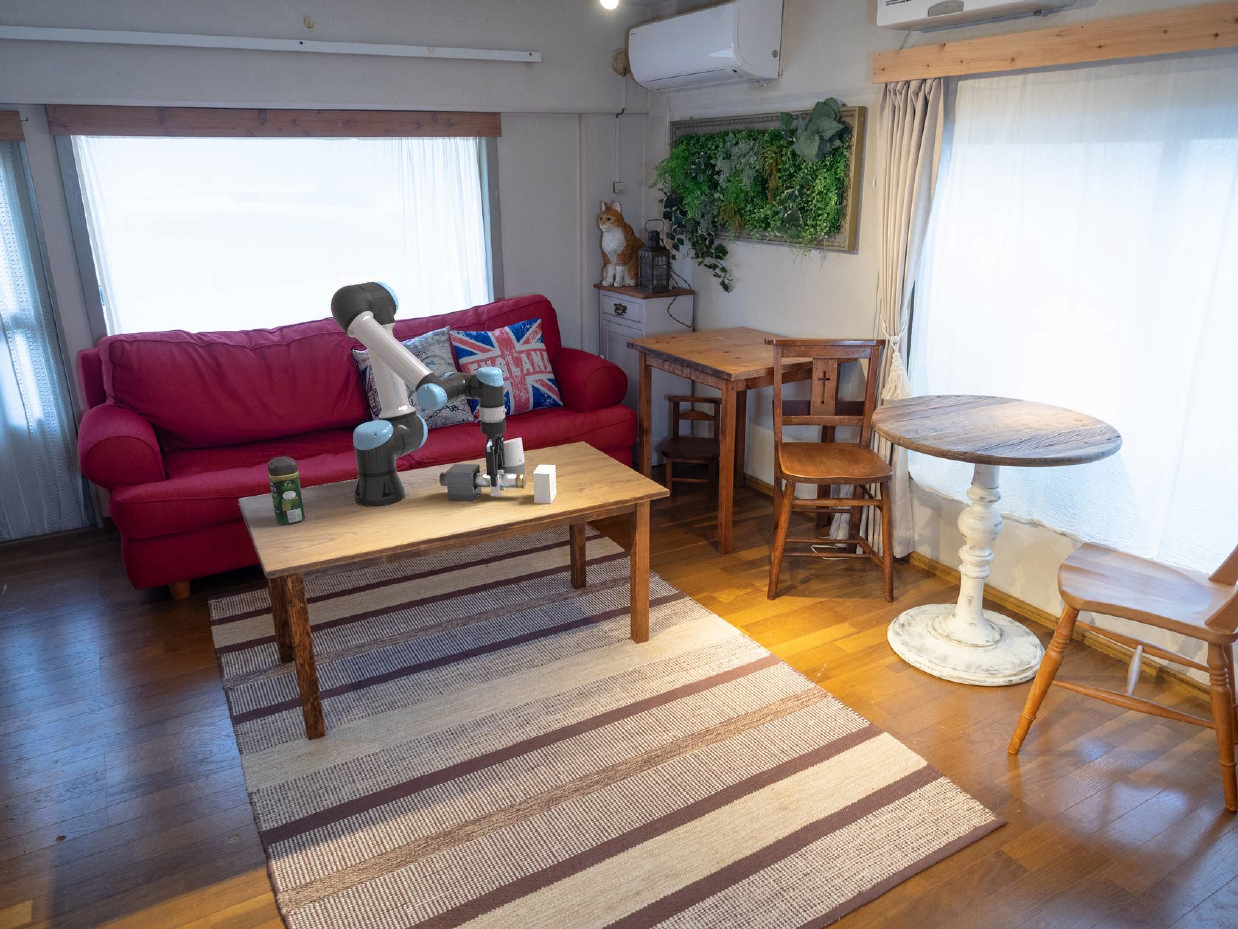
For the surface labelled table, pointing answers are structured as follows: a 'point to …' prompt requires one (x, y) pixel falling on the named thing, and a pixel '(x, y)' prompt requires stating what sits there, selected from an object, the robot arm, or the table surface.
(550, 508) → the table surface
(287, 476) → the coffee jar
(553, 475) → the socket block
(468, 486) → the sleeve
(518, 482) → the tube
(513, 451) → the smart speaker
